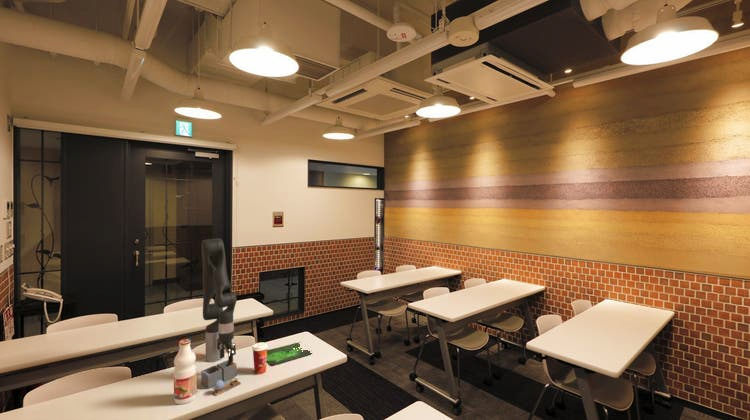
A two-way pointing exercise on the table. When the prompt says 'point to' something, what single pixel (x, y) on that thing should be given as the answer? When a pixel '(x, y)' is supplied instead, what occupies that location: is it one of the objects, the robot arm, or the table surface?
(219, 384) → the blue ball
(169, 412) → the table surface
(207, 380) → the tube
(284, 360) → the mouse mat
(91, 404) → the table surface
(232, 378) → the card
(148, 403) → the table surface
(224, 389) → the walnut seat rail
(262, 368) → the coffee cup
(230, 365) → the tube
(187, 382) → the fruit juice
